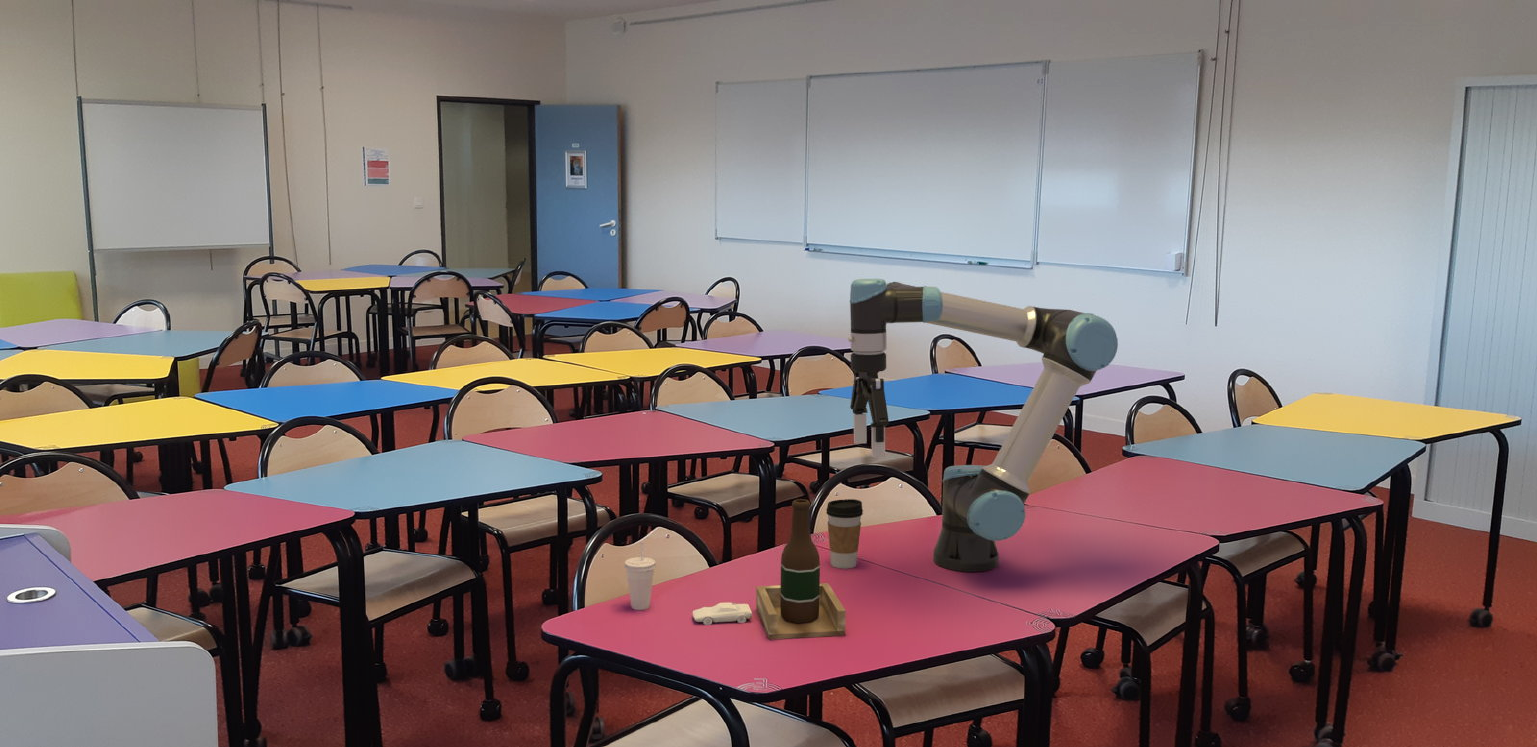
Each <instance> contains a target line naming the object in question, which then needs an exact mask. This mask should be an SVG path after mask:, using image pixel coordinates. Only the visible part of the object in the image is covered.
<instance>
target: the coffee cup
mask: <svg viewBox="0 0 1537 747" xmlns="http://www.w3.org/2000/svg"><path fill="white" fill-rule="evenodd" d="M863 514H864V510H863V502H862V501H861V500H860V499H855V498H854V499H853V498H852V499H850V498H849V499H836V500H831V501H829V502H827V507H826V515H828V516H827V517H828V518H827V519H828V521H827V530H828V542H829V543H828V544H829V555H830V566H832V567H833V568H835V569H844V570H845V569H852V568H855V567H856V566H857V562H858V561H857V560H858V551H859V543H860V542H859V541H860V535H861V527H862V526H861V525H862V522H861V519H862V518H861V517H862V516H863Z"/></svg>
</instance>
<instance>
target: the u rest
mask: <svg viewBox="0 0 1537 747" xmlns="http://www.w3.org/2000/svg"><path fill="white" fill-rule="evenodd" d="M755 589H756V594H755V595H756V599H755V600H756V601H755V602H756V604H755V605H756V606H755V607H756V613H757V614H758V617H759V620H760V622H761V624H762V627H763V629H764V631H765V634H766V636H767V639H768V640H769V641H770V640H784V639H804V638H807V639H808V638H821V637H825V638H826V637H839V636H840V637H841V636H842V637H843V636H846V620H847V618H846V616H847V615H846V614H847V612H846V609H845V607H844V606H843V604H842V603H841V601H840V600H839V598H838V596H837V595H836V594H835V591H834V590H833V589H832V587H831V585H830V584H829V583H828V582H826V583H825V582H824V583H823V582H822V583H821V582H820V592H819V617H818V618H817V619H816V620H814V621H813V622H812V623H804V624H796V623H791V622H786V621H785V620H784V619H783V617H782V616H781V609H780V595H781V584H780V585H779V584H778V585H760V586H759V585H758V586H756V588H755Z"/></svg>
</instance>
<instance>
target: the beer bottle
mask: <svg viewBox="0 0 1537 747" xmlns="http://www.w3.org/2000/svg"><path fill="white" fill-rule="evenodd" d="M791 507H792V518H791V520H792V521H791V530H790V532H791V533H790V536H789V537H790V538H789V540H788V542H787V543H786V544H785V546H784V548H783V550H782V552H781V556H780V557H781V558H780V559H781V560H780V585H781V595H780V609H781V616H782V617H783V619H784V620H785V621H786V622H791V623H796V624H804V623H812V622H813V621H814V620H816V619H817V618H818V617H819V592H820V583H821V581H820V579H821V576H820V574H821V573H820V572H821V561H820V554H819V551H818V549H817V547H816V545H815V543H814V542H813V541H812V535H811V520H810V516H811V515H810V508H811V502H810V501H809V500H808V499H805V498H799V499H798V498H797V499H795V500H793V501H792V503H791Z"/></svg>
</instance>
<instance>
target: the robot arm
mask: <svg viewBox="0 0 1537 747" xmlns="http://www.w3.org/2000/svg"><path fill="white" fill-rule="evenodd" d="M849 294H850V295H849V296H850V297H849V305H850V307H849V308H850V309H849V310H850V311H849V312H850V336H849V337H848V339H847V340H848V342H850V350H851V351H852V353H851V354H850V369H851V371H853V374H854V375H853V383H852V384H853V385H852V391H851V392H852V393H851V400H850V406H849V407H850V410H852V414H853V444H854V445H857V444H860V445H861V444H867V439H868V438H867V437H868V436H867V431H868V430H867V413H868V409H867V408H868V407H869V411H870V416H871V421H872V422H871V423H870V425H869V427H870V428H871V458H886V427H887V426H889V425H890V420H889V414H888V407H887V402H886V401H887V400H886V393H885V380H884V378H879V373H880V372H885V371H886V369H887V354H886V352H885V351H886V350H887V324H896V323H897V324H900V323H901V324H904V323H906V324H907V323H908V324H909V323H923V324H924V323H925V324H930V325H934V326H939V327H945V328H948V329H949V328H950V329H954V330H958V331H964V332H970V333H974V334H977V335H978V334H979V335H983V336H988V337H991V338H998V339H1002V340H1007V341H1013V342H1016V344H1017V345H1018V347H1021V348H1025V349H1029V350H1032V351H1034V352H1035V351H1036V352H1037V353H1040V354H1042V357H1041V361H1042V365H1043V370H1042V372H1041V374H1040V376H1039V377H1038V379H1037V381H1036V382H1035V384H1034V386H1033V387H1032V388H1033V389H1032V390H1031V392H1030V394H1029V395H1028V398H1027V399H1026V401H1025V403H1024V405H1023V406H1022V407H1021V408H1022V409H1021V410H1020V412H1019V414H1018V415H1017V417H1016V419H1015V422H1014V423H1013V425H1012V427H1011V428H1010V431H1009V432H1008V434H1007V436H1006V438H1005V440H1004V441H1003V443H1002V445H1001V448H999V451H998V452H997V455H996V457H995V458H994V460H993V462H992V463H991V464H988V465H980V464H979V465H978V464H977V465H976V464H975V465H974V464H964V465H962V464H960V465H951V466H948V467H946V468H945V469H944V471H943V479H942V511H941V512H942V513H941V514H942V515H941V516H942V518H941V521H942V522H941V530H940V532H939V536H938V538H937V540H936V542H935V546H934V549H933V557H932V558H933V559H932V560H933V562H934V563H935V564H936V565H937V566H940V567H941V568H945V569H948V570H952V571H959V572H968V573H969V572H971V573H973V572H985V571H986V572H987V571H990V570H993V569H995V568H997V567H998V566H999V560H1000V558H999V557H1000V555H999V551H998V547H997V543H996V542H999V541H1003V540H1004V541H1005V540H1008V539H1009V538H1012V537H1014V535H1016V534H1017V533H1018V532H1019V531H1020V530H1021V529H1022V527H1023V525H1024V523H1025V520H1026V509H1025V503H1026V502H1027V499H1028V497H1029V495H1030V494H1031V490H1030V487H1029V480H1030V478H1031V476H1032V475H1033V473H1034V471H1035V469H1036V468H1037V466H1038V463H1040V461H1041V459H1042V457H1043V455H1044V453H1045V451H1046V450H1047V447H1048V446H1049V443H1050V442H1051V440H1052V438H1053V436H1054V435H1055V433H1056V431H1057V429H1058V428H1059V425H1060V424H1061V422H1062V420H1063V418H1064V416H1065V415H1066V413H1067V411H1068V409H1069V407H1070V405H1071V403H1072V401H1073V400H1074V398H1075V396H1076V394H1077V392H1078V391H1079V389H1080V387H1082V386H1085V385H1088V384H1091V382H1092V380H1093V378H1094V377H1095V374H1097V371H1099V370H1102V369H1105V368H1106V367H1108V366H1109V365H1110V364H1111V363H1112V362H1113V361H1114V359H1115V357H1116V355H1117V352H1118V346H1119V344H1118V337H1117V333H1116V330H1115V328H1114V326H1113V325H1112V324H1111V323H1110V321H1108V320H1107V319H1105V318H1103V317H1101V316H1099V315H1096V314H1094V313H1091V312H1090V313H1089V312H1087V313H1086V312H1081V311H1078V310H1077V311H1076V310H1073V309H1060V308H1059V309H1058V308H1045V307H1036V306H1032V305H1027V306H1026V307H1024V308H1020V307H1016V306H1011V305H1005V304H1001V303H996V302H992V301H991V302H990V301H986V300H983V299H977V298H971V297H967V296H963V295H957V294H954V293H953V294H952V293H949V292H944V291H941V290H940V289H939V288H938V287H936V286H926V285H924V286H915V285H910V284H904V283H901V282H899V281H891V282H887V281H886V280H885V279H883V278H858V279H855V280H853V281H852V282H851V284H850V292H849ZM867 405H868V407H867Z"/></svg>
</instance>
